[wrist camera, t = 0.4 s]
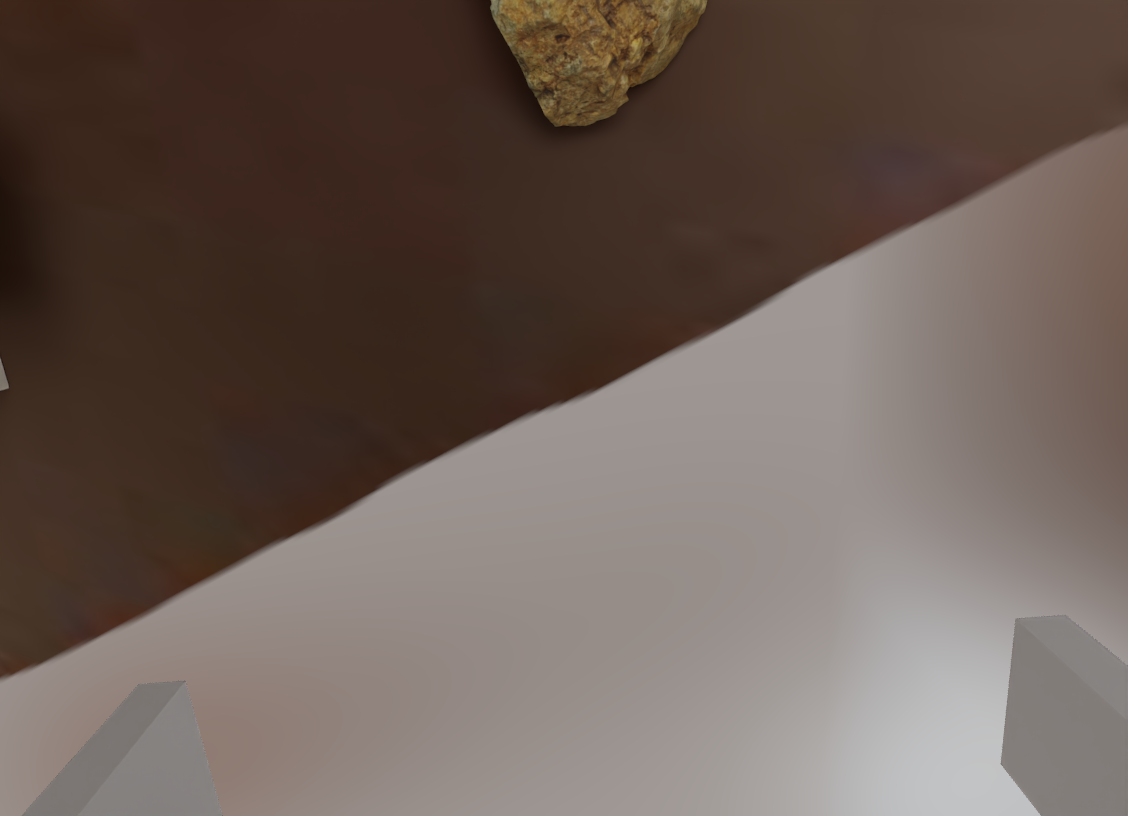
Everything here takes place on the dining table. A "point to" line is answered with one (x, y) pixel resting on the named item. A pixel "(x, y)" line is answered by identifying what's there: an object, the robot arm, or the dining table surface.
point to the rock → (592, 49)
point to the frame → (3, 378)
